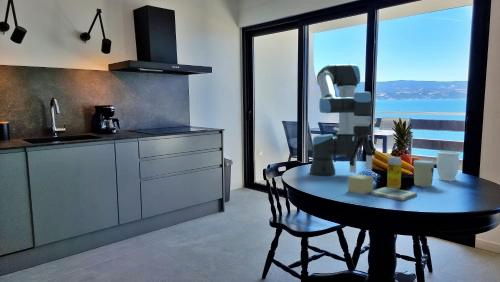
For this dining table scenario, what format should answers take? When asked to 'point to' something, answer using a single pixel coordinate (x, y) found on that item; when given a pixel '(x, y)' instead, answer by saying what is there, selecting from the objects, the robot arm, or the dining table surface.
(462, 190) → the dining table surface
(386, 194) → the blueprint board
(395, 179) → the glass of beer
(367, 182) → the cream yellow block
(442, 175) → the jar
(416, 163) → the coffee cup
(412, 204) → the dining table surface
